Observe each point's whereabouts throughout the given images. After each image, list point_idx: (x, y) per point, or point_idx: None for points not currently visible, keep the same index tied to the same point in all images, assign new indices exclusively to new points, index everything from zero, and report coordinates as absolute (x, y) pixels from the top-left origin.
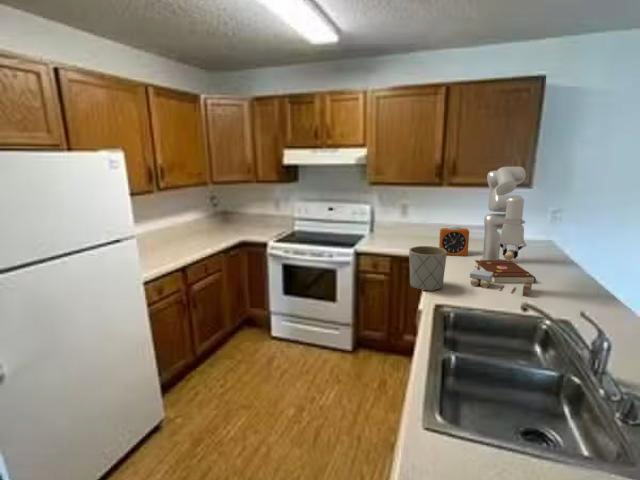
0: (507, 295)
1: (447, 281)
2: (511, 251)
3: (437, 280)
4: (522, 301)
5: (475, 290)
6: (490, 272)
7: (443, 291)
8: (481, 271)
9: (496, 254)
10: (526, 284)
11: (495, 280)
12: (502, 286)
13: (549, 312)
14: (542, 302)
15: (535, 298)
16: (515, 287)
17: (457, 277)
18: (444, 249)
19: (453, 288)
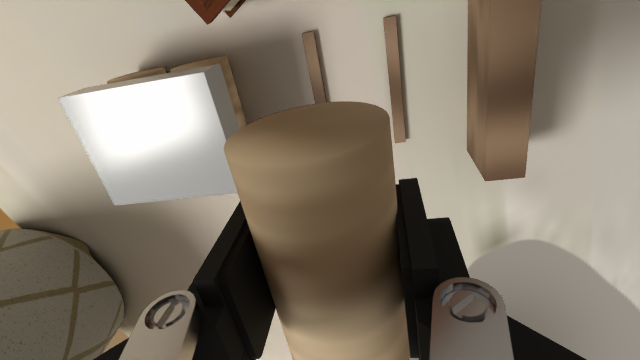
0: None
1: (52, 175)
2: (343, 309)
3: (99, 353)
4: (479, 227)
5: (230, 215)
6: (189, 93)
7: (149, 297)
8: (129, 116)
9: None
10: (502, 124)
11: (231, 5)
12: (314, 68)
13: (616, 285)
14: (588, 182)
15: (547, 143)
16: (395, 24)
17: (16, 67)
18: None
19: (147, 247)
